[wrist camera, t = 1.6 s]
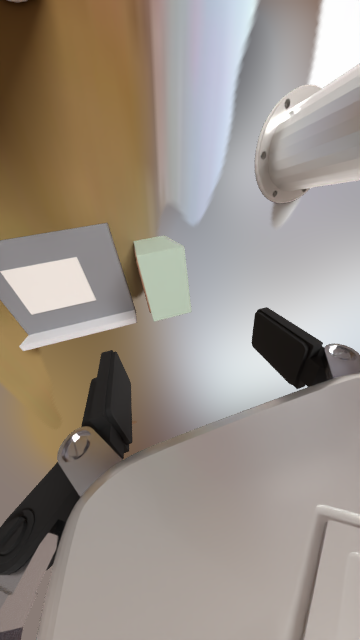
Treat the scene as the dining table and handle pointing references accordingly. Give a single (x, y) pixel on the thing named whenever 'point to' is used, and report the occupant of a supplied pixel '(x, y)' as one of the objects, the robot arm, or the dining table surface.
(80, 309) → the shelf board
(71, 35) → the dining table surface
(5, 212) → the dining table surface
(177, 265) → the box
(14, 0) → the milk bottle
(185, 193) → the dining table surface
